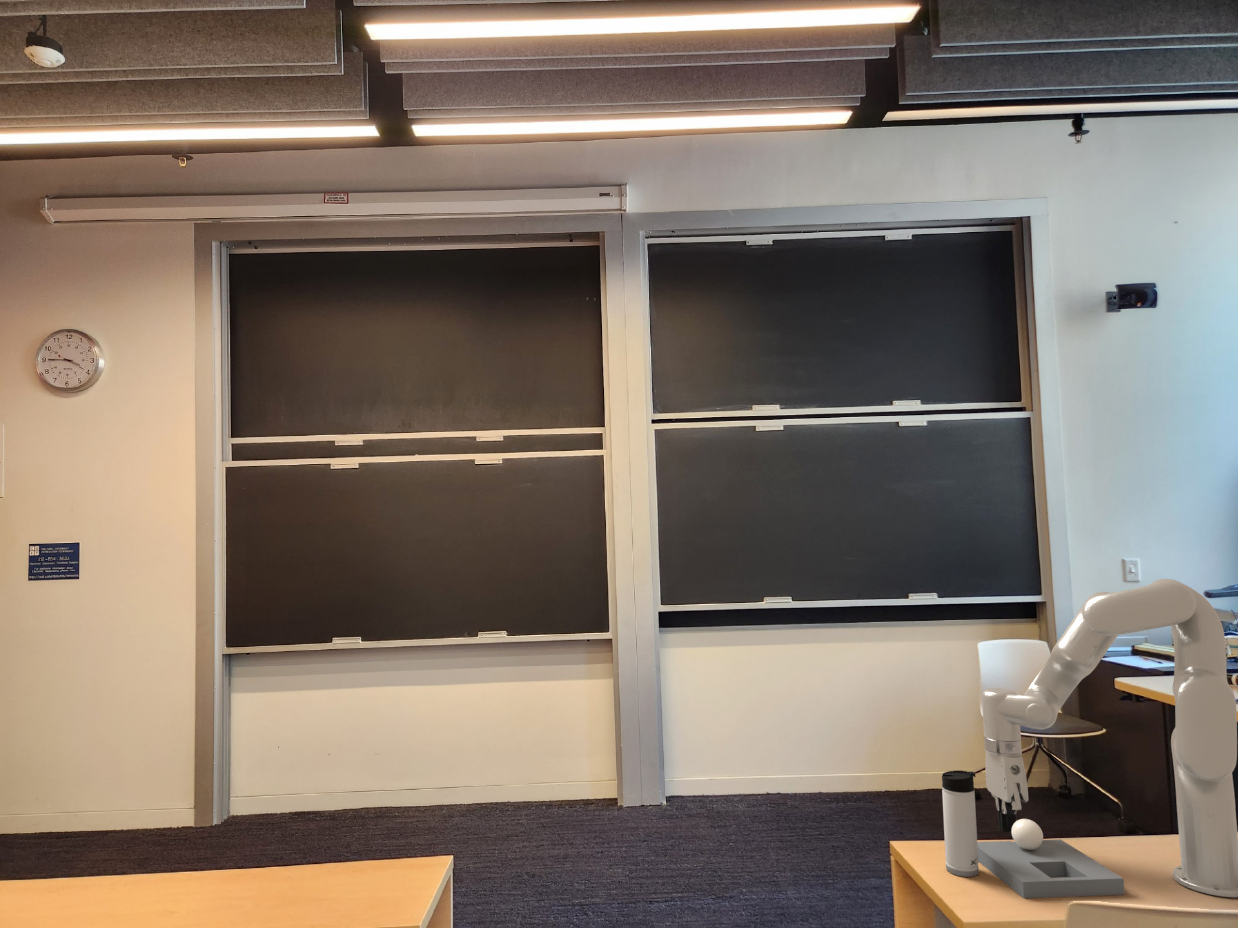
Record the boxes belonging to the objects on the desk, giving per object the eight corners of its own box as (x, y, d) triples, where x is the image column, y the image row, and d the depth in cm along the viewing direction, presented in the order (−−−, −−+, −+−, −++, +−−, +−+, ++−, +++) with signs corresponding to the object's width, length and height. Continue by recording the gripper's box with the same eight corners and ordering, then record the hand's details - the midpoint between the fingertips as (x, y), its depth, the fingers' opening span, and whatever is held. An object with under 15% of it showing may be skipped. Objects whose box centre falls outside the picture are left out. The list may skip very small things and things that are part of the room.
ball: (1033, 842, 171) (1032, 814, 172) (1050, 853, 165) (1048, 824, 166) (1006, 843, 171) (1005, 814, 172) (1022, 854, 165) (1020, 824, 166)
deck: (1061, 853, 173) (1060, 839, 173) (1124, 894, 153) (1123, 878, 153) (972, 856, 172) (971, 842, 172) (1023, 898, 152) (1022, 881, 152)
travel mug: (983, 878, 161) (978, 776, 163) (949, 875, 162) (944, 775, 164) (976, 865, 167) (971, 768, 169) (943, 863, 168) (938, 766, 170)
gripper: (1038, 754, 171) (1043, 842, 169) (1001, 736, 186) (1006, 818, 184) (1004, 755, 170) (1009, 843, 169) (970, 737, 185) (974, 819, 184)
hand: (1007, 830), depth 176 cm, fingers closed
